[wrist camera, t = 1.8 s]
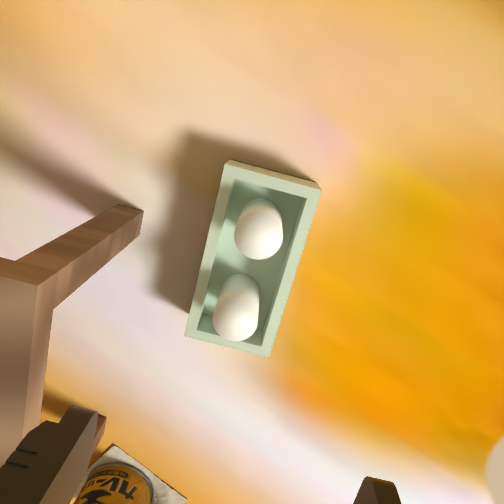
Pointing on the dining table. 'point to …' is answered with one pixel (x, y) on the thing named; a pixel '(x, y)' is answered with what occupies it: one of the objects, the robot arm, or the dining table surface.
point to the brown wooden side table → (47, 312)
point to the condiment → (123, 483)
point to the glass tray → (236, 261)
